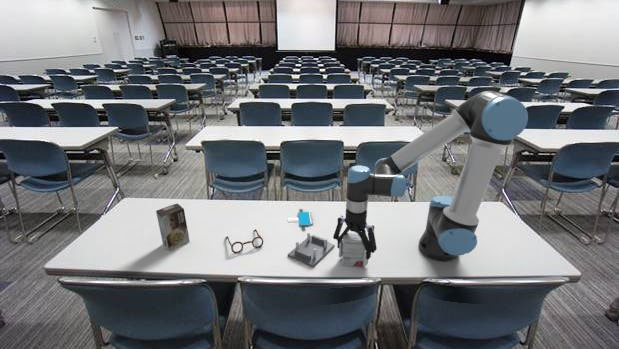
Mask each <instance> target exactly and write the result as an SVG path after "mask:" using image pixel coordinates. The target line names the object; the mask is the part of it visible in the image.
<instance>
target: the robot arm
mask: <svg viewBox="0 0 619 349" xmlns="http://www.w3.org/2000/svg"><path fill="white" fill-rule="evenodd" d="M528 120H529V113H528V110H527V107H526V106H525V105H524V103H522V102H521V101H520V100H518V99H517V98H515V97H513V96H510V95H507V94H505V93H502V92H498V91H497V90H486V91H481V92H479V93H477V94H475V95H474V96H471V97H470V98H468V99H466V101H465V100H464V102H462V103H461V104H459V105H458V106H456V107H455V108H454V109H452V111H451V114H450V115H448V116H447V117H445V118H444V119H443V120H441V121H440V122H438V123H437V124H435V125H433V126H432V127H431V128H429V129H428V130H426V131H425V132H424V133H422V134H420V135H419V136H418V137H417V138H414V140H412V141H411V142H409V143H407V144H406V145H404V146H403V147H401V148H400V149H399V150H397V151H396V152H394V153H392V154H391V155H389V156H388V157H384V158H383V157H382V158H380V159H378V160H376V162H375V165H374V169H373V170H374V173H373V172H371V169H370V168H369V167H368V166H365V165H361V164H360V165H353V166H351V167H350V168H348V172H347V179H346V180H347V182H346V201H345V217H344V216H343V215H340V216H339V217H337V225H336V227H335V230H334V233H333V237H332V238H333V239H334V240H336V241H337V249H339V250H338V258H341V259H342V247H343V235H346V234H347V233H349V232H354V233H355V234H358V235H359V236H360V238H361V240H362V243H363V245H364V247H365V251H364V259H363V268H366V266H367V265H368V263H369V260H370V258H371V257H372V254H374V253H375V252H376V250H377V243H376V242H377V241H376V237H375V225H368V222H367V216H368V204H369V196H378V197H389V198H391V197H392V198H394V197H395V198H401V197H404V196H405V193H406V188H407V180H406V176H405V175H403V174H402V173H403V172H405V171H406V170H407V169H409V168H411V167H413V166H414V165H416V164H417V163H419V162H421V161H422V160H424V159H425V158H427V157H428V156H430V155H431V154H433V153H434V152H436V151H438V150H439V149H441V148H442V147H443V146H445V145H447V144H448V143H450V142H451V141H453V140H455V139H456V138H457V137H459V136H461V135H462V134H464V133H469V137H470V138H471V141H472V142H471V145H470V148H469V150H468V153H467V156H466V160H465V163H464V166H463V168H462V170H461V173H460V176H459V180H458V181H457V185H456V188H455V190H454V193H453V195H452V196H447V195H437V196H433V197H432V198H431V199H430V201H429V202H430V203H429V204H428V205H429V206H428V213H427V219H426V225H425V230H424V231H423V234H422V235H421V237H420V238H419V240H418V245H417V246H418V250H419V252H420V253H422V254H423V255H424V256H426V257H428V258H430V259H432V260H436V261H440V262H449V261H453V260H456V258H457V257H458V256H464V255H466V254H469V253H471V252H473V251H474V250H475V249H476V247H477V245H478V237H477V235H476V230H477V228H478V225H479V222H480V219H479V217H478V216H477V214H478V211H479V209H480V206H481V203H482V202H483V199H484V197H485V194H486V192H487V189H488V187H489V184H490V181H491V179H492V176H493V175H494V171H495V168H496V166H497V163H498V161H499V158H500V155H501V153H502V151H503V149H505V148H507V147H510V146H511V145H512V141H513V139H515V138H516V137H517V136H519V135H521V133H523V131H524V130H525V129H526V127H527V125H528ZM344 223H345V225H346V227H345V229H344V230H343V232H342V233H341V231H342V228H343V225H344ZM366 232H367V233H366ZM340 233H341V234H340Z"/></svg>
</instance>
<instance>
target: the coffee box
mask: <svg viewBox="0 0 619 349" xmlns="http://www.w3.org/2000/svg"><path fill="white" fill-rule="evenodd" d="M155 213H156V217H157V222H158V227H159V231H160V237H161V243H162V245H163V246H164V247H165V249H167V251H171V250H174V249H176V248H179V247H181V246H183V245H185V244H187V243H189V242H190V237H189V236H190V235H189V230H188V226H187V224H188V223H187V219H186V214H185V209H184V207H183V206H181V204H179V203H174V204H171V205H168V206H166V207H162V208H160V209H157V210H155Z"/></svg>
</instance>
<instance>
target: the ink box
mask: <svg viewBox="0 0 619 349" xmlns="http://www.w3.org/2000/svg"><path fill="white" fill-rule="evenodd" d="M342 240H343V247H342V257H341V266H342V267H344V266H345V267H363V259H364V251H365V247H364V245H363V243H362V240H361V238H360V236H359V235H358V233H349V232H348V233H347V234H346V235H343V239H342ZM363 268H364V267H363Z"/></svg>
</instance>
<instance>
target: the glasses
mask: <svg viewBox="0 0 619 349" xmlns="http://www.w3.org/2000/svg"><path fill="white" fill-rule="evenodd" d="M253 232H254V233H256V235H257V236H255V237H254V238H253V239H252V241H251V240H250V241H249V240H248V241H245V242H242V241H235V242H233V243H231V241H230V238H229V236H225V237H224V238H225V239H227V241H228V244H229V245H230V250H231V252H232V253H234V254H240V253H241V252H242V251H243V249H244V245H246V244H252V247H253V248H255V249H259V248H261V247H262V246H264V239H263V238H262V237H261V235H260V234H259V233H258V230H257V229H256V228H255V229H253ZM257 239H260V240H261V244H260V245H258V246H256V245H255V244H254V242H255V240H257ZM236 244H240V245H241V248H240V250H238V251H235V250H234V246H235V245H236Z"/></svg>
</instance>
